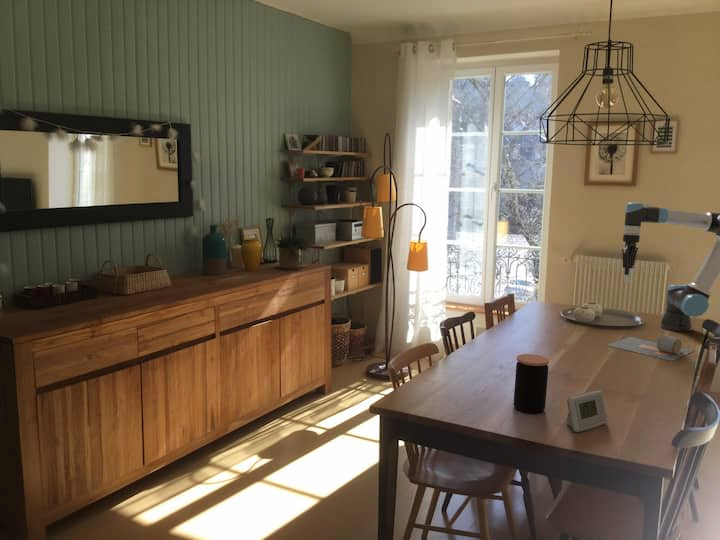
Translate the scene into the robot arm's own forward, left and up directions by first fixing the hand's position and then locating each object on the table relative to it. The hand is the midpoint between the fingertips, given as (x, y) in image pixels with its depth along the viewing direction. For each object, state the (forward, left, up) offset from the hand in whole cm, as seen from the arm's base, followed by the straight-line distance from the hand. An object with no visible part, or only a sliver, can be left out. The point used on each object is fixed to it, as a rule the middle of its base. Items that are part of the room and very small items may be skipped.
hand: (626, 280), depth 329 cm
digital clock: (+126, +48, -27) cm, 138 cm away
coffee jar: (+128, +28, -27) cm, 134 cm away
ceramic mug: (+17, +30, -26) cm, 44 cm away
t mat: (+18, +22, -26) cm, 39 cm away
